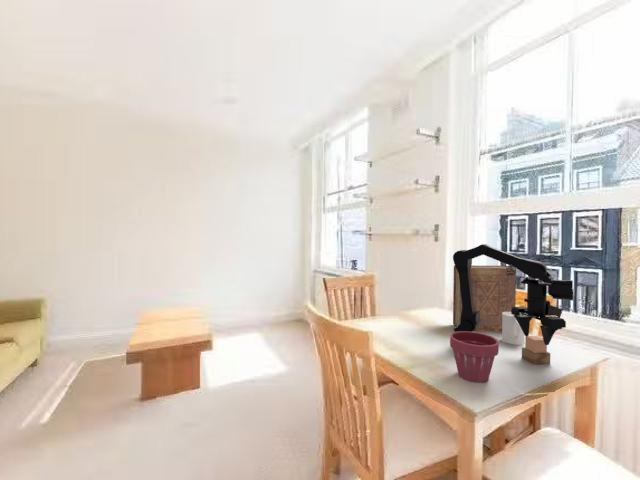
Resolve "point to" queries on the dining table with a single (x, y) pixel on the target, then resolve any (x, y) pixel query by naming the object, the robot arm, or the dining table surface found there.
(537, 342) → the cube
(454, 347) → the plant pot
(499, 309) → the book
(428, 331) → the dining table surface
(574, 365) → the dining table surface
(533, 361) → the base block
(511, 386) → the dining table surface
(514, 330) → the mug
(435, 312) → the dining table surface
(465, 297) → the robot arm
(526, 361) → the gray square frame
